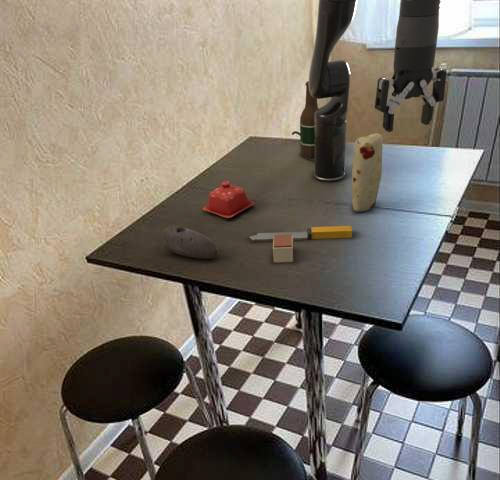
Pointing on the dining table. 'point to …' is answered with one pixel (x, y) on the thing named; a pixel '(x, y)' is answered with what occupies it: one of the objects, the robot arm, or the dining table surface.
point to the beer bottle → (308, 125)
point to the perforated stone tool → (188, 243)
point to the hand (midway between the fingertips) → (406, 127)
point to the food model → (366, 171)
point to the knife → (309, 234)
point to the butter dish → (227, 200)
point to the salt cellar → (283, 248)
